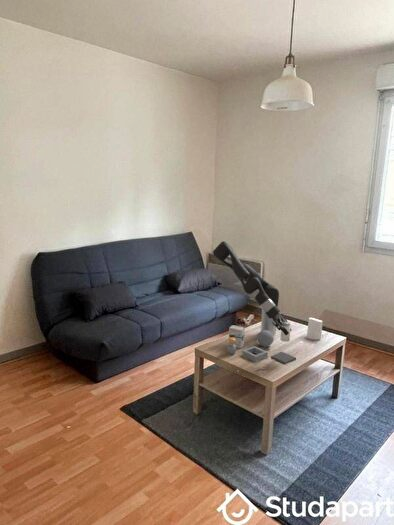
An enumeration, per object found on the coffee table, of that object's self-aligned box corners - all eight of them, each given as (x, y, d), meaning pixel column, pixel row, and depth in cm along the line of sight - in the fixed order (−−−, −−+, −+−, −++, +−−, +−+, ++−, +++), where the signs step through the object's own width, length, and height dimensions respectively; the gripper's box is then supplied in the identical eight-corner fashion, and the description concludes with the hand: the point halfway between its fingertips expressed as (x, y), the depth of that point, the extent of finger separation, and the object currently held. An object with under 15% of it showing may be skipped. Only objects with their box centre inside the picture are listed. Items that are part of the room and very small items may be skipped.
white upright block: (304, 336, 256) (305, 319, 254) (311, 333, 262) (313, 316, 260) (316, 340, 250) (318, 323, 247) (323, 337, 256) (325, 320, 253)
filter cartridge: (283, 337, 224) (285, 320, 222) (291, 340, 220) (292, 323, 218) (278, 339, 220) (279, 322, 218) (286, 342, 217) (287, 325, 215)
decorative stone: (272, 350, 233) (273, 334, 231) (255, 348, 235) (256, 332, 233) (273, 343, 243) (274, 328, 241) (257, 341, 245) (258, 326, 243)
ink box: (227, 345, 238) (228, 327, 236) (231, 342, 242) (232, 324, 240) (240, 348, 234) (242, 330, 232) (243, 345, 238) (245, 327, 236)
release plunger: (231, 340, 229) (232, 336, 228) (236, 343, 226) (237, 339, 225) (227, 342, 226) (227, 338, 226) (232, 344, 223) (232, 340, 223)
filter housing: (243, 346, 238) (244, 338, 237) (267, 356, 224) (268, 348, 223) (225, 352, 228) (225, 344, 227) (249, 364, 214) (249, 355, 213)
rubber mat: (281, 353, 229) (281, 351, 229) (295, 359, 222) (296, 357, 222) (270, 357, 223) (271, 356, 223) (285, 364, 216) (285, 362, 215)
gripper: (269, 308, 230) (287, 332, 226) (260, 315, 217) (280, 340, 214) (278, 301, 226) (297, 325, 223) (270, 308, 214) (290, 333, 210)
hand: (288, 332), depth 218 cm, fingers closed on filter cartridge, 5 cm apart
